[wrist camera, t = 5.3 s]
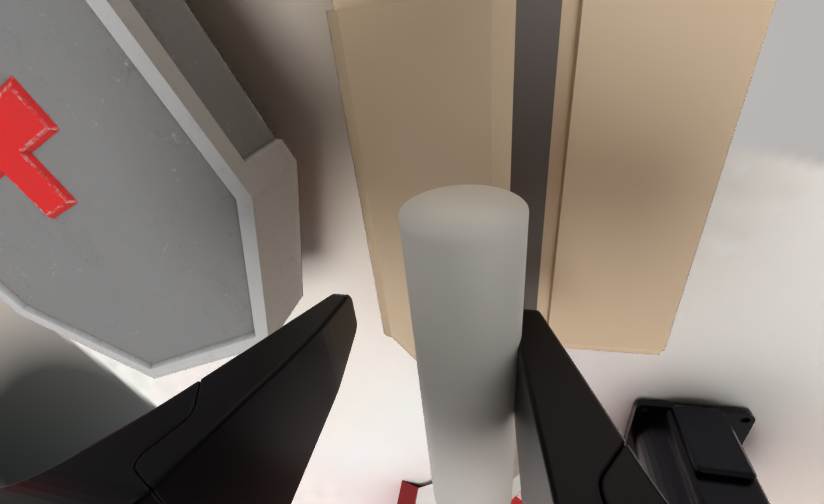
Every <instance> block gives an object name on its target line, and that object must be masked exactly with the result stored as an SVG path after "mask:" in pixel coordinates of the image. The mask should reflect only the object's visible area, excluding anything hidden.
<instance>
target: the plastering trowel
mask: <svg viewBox="0 0 824 504" xmlns="http://www.w3.org/2000/svg"><path fill="white" fill-rule="evenodd" d="M326 13H327V19H328V24H329V30H330V35H331V41H332V46H333V52H334V58H335V63H336V69H337V74H338V80H339V85H340V91H341V97H342V102H343V108H344V113H345V119H346V124H347V130H348V135H349V141H350V147H351V152H352V158H353V163H354V169H355V174H356V180H357V186H358V191H359V197H360V202H361V208H362V213H363V219H364V225H365V230H366V236H367V241H368V247H369V252H370V258H371V263H372V269H373V275H374V280H375V286H376V291H377V297H378V302H379V308H380V314H381V319H382V325H383V330H384V334H385V335H387V336H389V337H392V338H393V339H394V340H395V341H396V342H397V343H399V344H400V345H401V346H402V347H403V348H404V349H405V350H406V351H407V352H408V353H409V354H410V355H411V356H412V357H413V358H414V359H415V360H416V361H417V367H418V374H419V382H420V390H421V398H422V406H423V413H424V421H425V429H426V437H427V444H428V452H429V460H430V468H431V475H432V483H433V491H434V497H435V501H436V504H511V500H512V499H513V498H514V497H515V496H516V495H517V494H518V493H519V492H520V491H521V485H520V474H519V463H518V452H517V442H516V431H515V417H514V407H515V392H516V378H517V364H518V349H519V344H520V341H521V337H522V321H523V304H524V288H525V272H526V255H527V239H528V222H529V207H528V205H527V203H526V202H525V201H524V200H523V199H522V198H521V197H520V196H518V195H517V194H515V193H513V192H510V178H511V147H512V116H513V85H514V54H515V23H516V0H422V1H413V2H404V3H395V4H386V5H377V6H368V7H359V8H350V9H341V10H332V11H326Z"/></svg>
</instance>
